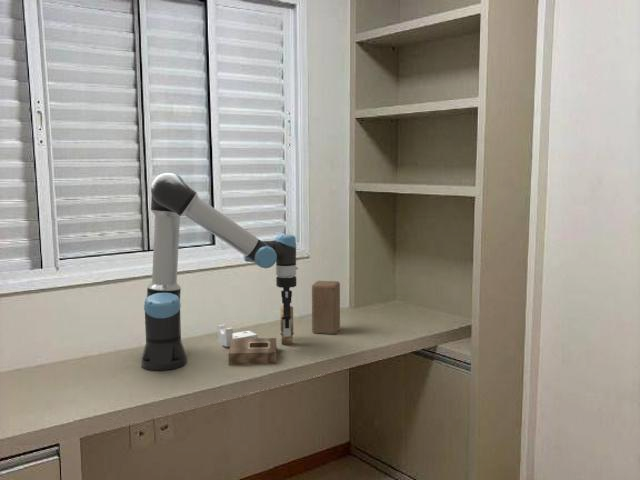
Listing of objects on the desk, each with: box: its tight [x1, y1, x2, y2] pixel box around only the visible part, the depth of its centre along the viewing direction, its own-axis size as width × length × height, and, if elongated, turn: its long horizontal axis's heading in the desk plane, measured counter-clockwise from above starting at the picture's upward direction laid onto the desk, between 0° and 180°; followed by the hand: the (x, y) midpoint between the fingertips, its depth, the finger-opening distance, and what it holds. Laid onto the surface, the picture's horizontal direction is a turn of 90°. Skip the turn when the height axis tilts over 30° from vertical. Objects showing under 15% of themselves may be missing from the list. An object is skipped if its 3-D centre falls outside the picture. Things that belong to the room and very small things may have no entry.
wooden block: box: [311, 280, 341, 335], centre depth 253 cm, size 10×10×20 cm
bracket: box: [217, 324, 259, 348], centre depth 236 cm, size 13×7×8 cm, turn 124°
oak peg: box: [279, 305, 295, 346], centre depth 235 cm, size 5×5×14 cm
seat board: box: [227, 337, 277, 366], centre depth 220 cm, size 16×18×4 cm
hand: (287, 331), depth 236 cm, fingers open, 13 cm apart
